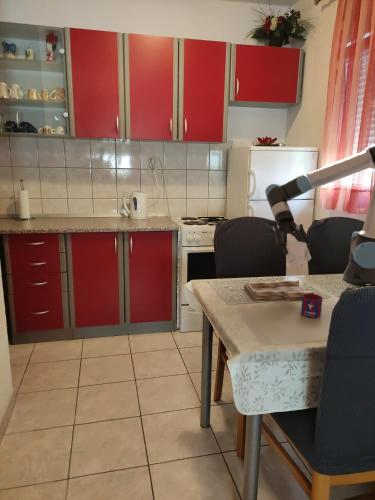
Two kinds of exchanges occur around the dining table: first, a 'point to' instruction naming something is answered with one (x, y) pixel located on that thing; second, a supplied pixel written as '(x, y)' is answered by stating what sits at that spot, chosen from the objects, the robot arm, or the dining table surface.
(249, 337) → the dining table surface
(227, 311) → the dining table surface
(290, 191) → the robot arm
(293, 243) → the white cup
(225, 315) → the dining table surface
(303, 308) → the mug
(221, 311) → the dining table surface
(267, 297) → the wooden tray
